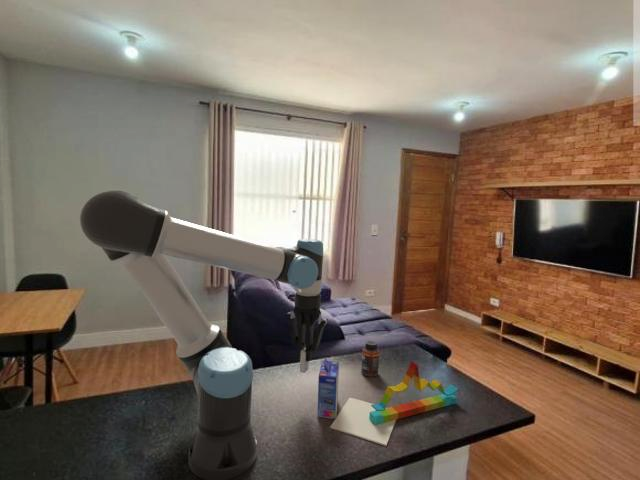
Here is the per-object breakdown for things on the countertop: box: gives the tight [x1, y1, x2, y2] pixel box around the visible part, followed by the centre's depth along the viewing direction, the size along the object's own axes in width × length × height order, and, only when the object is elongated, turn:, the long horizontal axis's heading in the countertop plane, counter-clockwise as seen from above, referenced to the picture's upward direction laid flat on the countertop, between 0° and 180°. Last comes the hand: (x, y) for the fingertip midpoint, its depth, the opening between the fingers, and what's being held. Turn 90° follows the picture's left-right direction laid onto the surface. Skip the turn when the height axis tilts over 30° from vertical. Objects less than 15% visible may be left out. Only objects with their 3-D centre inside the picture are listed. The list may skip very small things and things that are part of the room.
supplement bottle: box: [360, 340, 380, 377], centre depth 124 cm, size 6×6×11 cm
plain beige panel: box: [329, 397, 397, 447], centre depth 97 cm, size 15×16×1 cm
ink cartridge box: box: [317, 357, 340, 420], centre depth 101 cm, size 10×6×14 cm, turn 174°
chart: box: [369, 361, 459, 425], centre depth 101 cm, size 30×3×15 cm, turn 117°
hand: (304, 370), depth 104 cm, fingers closed
